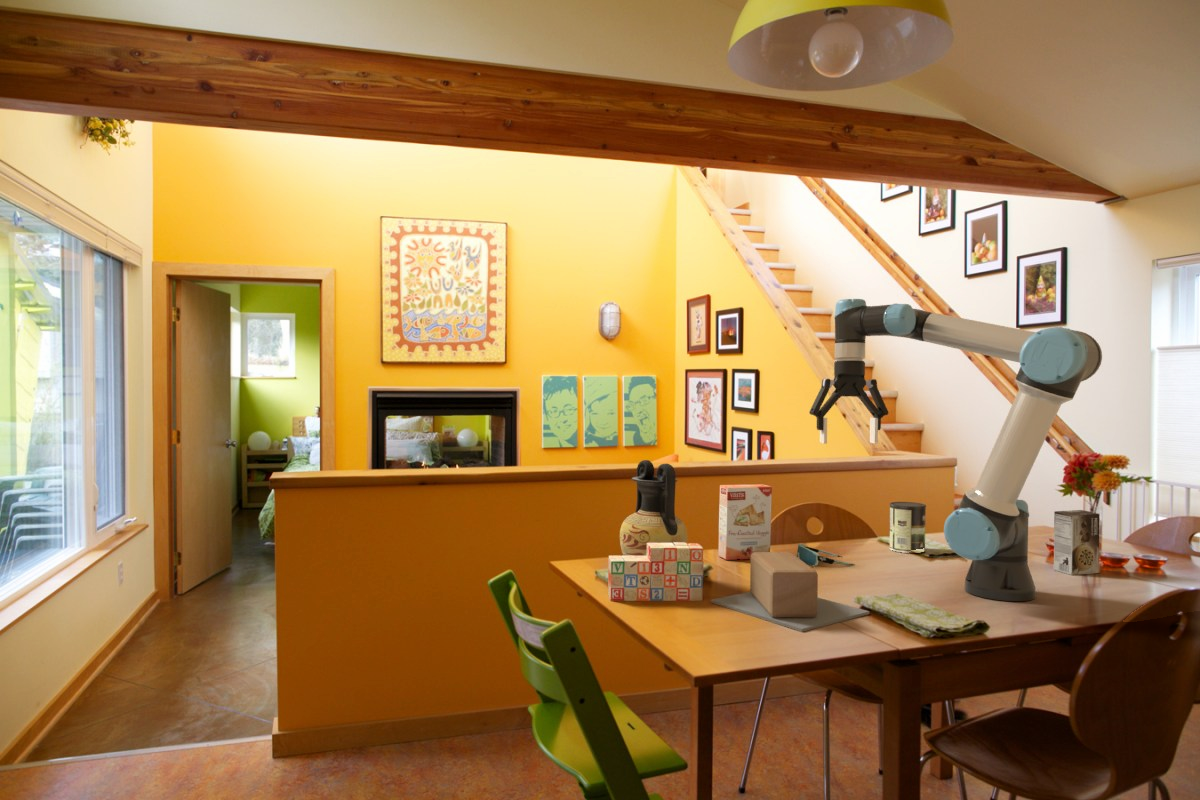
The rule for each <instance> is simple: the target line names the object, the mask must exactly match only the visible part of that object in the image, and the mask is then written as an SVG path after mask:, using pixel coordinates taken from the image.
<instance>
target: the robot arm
mask: <svg viewBox="0 0 1200 800" xmlns="http://www.w3.org/2000/svg"><path fill="white" fill-rule="evenodd" d="M833 318H834V354H833V355H834V357H833V358H834V359H835V360H836V361H835V362H834V365H833V367H834V368H833V375H834V378H833V379H830V378H823V379H822V380H821V386H820V389H819V391H818V394H817V396H816V397H815V399H814V402H813V403H812V406H811V407H810V410H809V415H811V416H814V417H816V430H817V431H819V443H820V444H825V445H827V444H828V417H825V416H826V415H827V414H828V412H830V410H831V409H832V407H833V406H834V405H835V404H836V403H837V402H838V400H839V399H840V398H841V397H846V398H847V397H851V398H852V397H854V398H855V397H857V398H858V399H859V400H860V401H861V403H862V404H863V405H864V406H865V408H866V409H867V410H868V412H869V413H870V414H871V416H873V417H869V443H870V444H878V440H879V439H878V438H879V437H878V435H879V433H878V431H881V429H882V425H881V424H882V418H883V417H885V416H888V415H889V410H888V408H887V406H886V403H885V401H884V399H883V397H882V395H881V393H880V390H879V388H878V382H877V378H876V379H875V378H870V379H868V380H866V378H865V375H866V362H865V361H864V360H865V358H866V337H877V336H878V337H879V336H882V337H883V336H886V337H889V336H890V337H898V338H906V339H911V340H914V341H920V342H926V343H930V344H934V345H938V346H944V347H948V348H952V349H957V350H961V351H965V352H970V353H975V354H979V355H984V356H987V357H988V356H989V357H992V358H997V359H1001V360H1006V361H1010V362H1014V363H1015V362H1016V363H1019V366H1020V367H1019V370H1018V372H1017V374H1016V376H1015V379H1014V381H1015V383H1016V386H1017V388H1018V391H1017V393H1016V395H1015V397H1014V400H1013V402H1012V404H1011V407H1010V409H1009V410H1008V413H1007V416H1006V418H1005V420H1004V422H1003V425H1002V426H1001V429H1000V431H999V434H998V436H997V438H996V440H995V443H994V445H993V448H992V450H991V451H990V454H989V456H988V459H987V460H986V463H985V465H984V466H983V470H982V472H981V474H980V477H979V479H978V481H977V483H976V485H975V487H974V488H970V489H967V490H966V491H965V492H964V494H963V496H962V499H961V501H960V503H959V506H958V508H957V509H955V510H954V511H952V513H950V514H949V515H948V516H947V517H946V519H945V521H944V524H943V535H944V539H945V541H946V543H947V545H948V547H949V548H950V549H951V550H952V551H953V552H954V553H955V554H956V555H958V556H959V557H961V558H963V559H966V560H970V561H971V563H970V566H969V568H968V571H967V573H966V576H965V580H964V591H965V592H966V593H968V594H971V595H973V596H976V597H980V598H984V599H989V600H995V601H1004V602H1026V601H1027V602H1028V601H1033V600H1034V599H1036V593H1037V592H1036V590H1037V589H1036V585H1035V582H1034V580H1033V576H1032V573H1031V570H1030V567H1029V564H1028V562H1029V561H1028V556H1029V555H1028V554H1029V553H1028V552H1029V551H1028V550H1029V517H1030V512H1029V505H1028V503H1027V501H1025V500H1023V499H1019V497H1020V494H1021V492H1022V490H1023V487H1024V486H1025V484H1026V482H1027V479H1028V477H1029V475H1030V472H1031V470H1032V469H1033V466H1034V463H1036V460H1037V458H1038V456H1039V453H1040V451H1041V449H1042V447H1043V445H1044V443H1045V440H1046V438H1047V436H1048V434H1049V431H1050V430H1051V428H1052V426H1053V424H1054V421H1055V419H1056V416H1057V414H1058V412H1059V410H1060V408H1061V405H1063V404H1065V403H1067V402H1070V401H1072V400H1073V399H1074V398H1075V395H1076V394H1077V391H1078V389H1079V387H1080V384H1081V383H1082V382H1085V381H1087V380H1088V379H1090V378H1092V377H1093V376H1094V375H1095V374H1096V373H1097V372H1098V371H1099V369H1100V367H1101V365H1102V361H1103V352H1102V348H1101V346H1100V344H1099V343H1098V342H1097V340H1096V339H1095V338H1094V337H1092V336H1091V335H1090V334H1088V333H1087V332H1083V331H1080V330H1074V329H1070V328H1067V327H1062V326H1057V327H1056V326H1055V327H1054V326H1053V327H1047V328H1043V329H1040V330H1038V331H1030V330H1025V329H1020V328H1015V327H1010V326H1005V325H999V324H995V323H994V324H993V323H989V322H985V321H977V320H973V319H969V318H962V317H958V316H953V315H946V314H942V313H936V312H930V311H925V310H923V309H918V308H913V307H912V305H911V304H908V303H892V304H884V305H883V304H882V305H881V304H880V305H872V306H867V301H866V300H865V299H863V298H862V299H861V298H845V299H840V300H838V301H837V302H836V303H835V310H834V316H833ZM832 386H833V387H834V388H835V389H834V391H832V393H831V395H830V396H829V398H828V399H827V400H826V401H825V399H826V397H827V395H828V393H829V391H830V388H832ZM865 387H866V388H867V389H868V391H869V393H870V395H871V398H872V400H873V401H872V400H871V398H870V397H869V396H868V394H867V392H866V391H865V390H864V388H865ZM824 401H825V403H824ZM873 402H874V403H873Z"/></svg>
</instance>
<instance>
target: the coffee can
mask: <svg viewBox="0 0 1200 800" xmlns="http://www.w3.org/2000/svg"><path fill="white" fill-rule="evenodd" d="M926 508H927V505H926V504H925V503H920V502H914V501H913V502H912V501H911V502H910V501H893V502H889V548H888V549H889V550H890V551H892V550H893V551H892V552H895V551H896V552H895V553H900V552H902V553H901V554H910V553H909V552H911V550H916V549H923V548H925V549H926V510H927V509H926Z"/></svg>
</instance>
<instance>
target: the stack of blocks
mask: <svg viewBox="0 0 1200 800" xmlns="http://www.w3.org/2000/svg"><path fill="white" fill-rule="evenodd" d="M607 574H608V575H607V582H608V583H607V585H608V586H607V588H608V591H607V592H608V593H607V594H608V596H609V597H608V598H609V600H610V601H611V602H613V601H614V602H615V601H616V602H618V601H623V602H635V601H636V602H637V601H638V602H652V601H653V602H654V601H657V602H658V601H659V602H660V601H661V602H663V601H664V602H666V601H667V602H669V601H671V602H672V601H674V602H675V601H676V602H677V601H679V602H680V601H683V602H684V601H689V602H690V601H692V602H693V601H703V591H704V590H703V589H704V588H703V587H704V586H703V585H704V584H703V583H704V548H703V546H702V545H701V544H700V543H698V542H695V543H694V542H687V543H685V542H673V543H647V554H646V556H624V555H608V573H607Z"/></svg>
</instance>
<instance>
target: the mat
mask: <svg viewBox="0 0 1200 800" xmlns="http://www.w3.org/2000/svg"><path fill="white" fill-rule="evenodd" d="M710 603H712V604H715V605H718V606H720V607H724V608H727V609H730V610H733V611H736V612H739V613H742V614H746V615H748V616H752V617H754V618H757V619H760V620H764V621H766V620H767V622H770V623H773V624H776V625H779V626H783V627H785V626H786V627H785V628H788V627H789V629H791V628H792V629H791V630H794V629H795V631H798V632H801V633H802V632H803V633H804V632H806V631H807V632H808V631H811V630H815V629H818V628H822V627H826V626H829V625H833V624H837V623H840V622H845V621H849V620H851V619H856V618H860V617H864V616H868V615H870V611H869V610H866V609H862V608H859V607H855V606H850V605H847V604H843V603H840V602H838V601H837V602H836V601H832V600H830V599H829V600H828V599H825V598H822V597H818V598H817V615H816V617H813V618H774V617H772V616H771V615H770V614H769V613H768V612H767V611H766V610H765V608H764V607H763V606H762V605H761V604H760V603H759V602H758V601H757V599H756V598H755V597H754V596H753V595H752V594H751V591H747V592H742V593H737V594H733V595H728V596H727V595H726V596H722V597H719V598H712V599H710Z"/></svg>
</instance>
